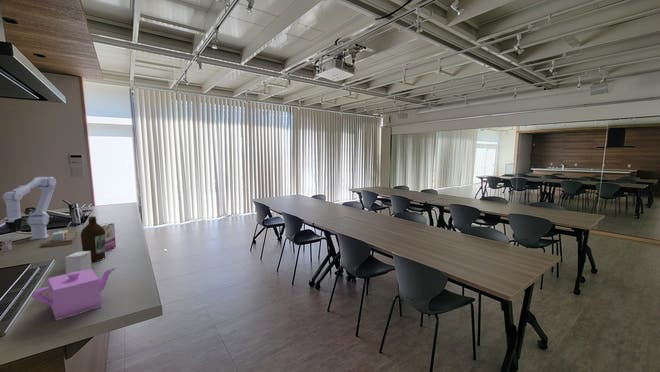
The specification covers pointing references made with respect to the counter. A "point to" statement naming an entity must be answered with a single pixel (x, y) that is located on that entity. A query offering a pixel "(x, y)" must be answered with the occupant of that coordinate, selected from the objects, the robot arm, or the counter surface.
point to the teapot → (73, 292)
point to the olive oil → (94, 239)
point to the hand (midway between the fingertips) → (15, 230)
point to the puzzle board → (68, 240)
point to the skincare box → (78, 262)
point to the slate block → (58, 236)
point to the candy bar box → (109, 235)
